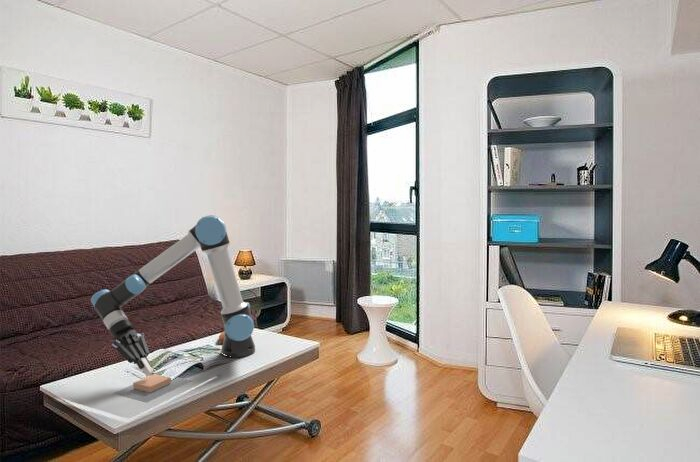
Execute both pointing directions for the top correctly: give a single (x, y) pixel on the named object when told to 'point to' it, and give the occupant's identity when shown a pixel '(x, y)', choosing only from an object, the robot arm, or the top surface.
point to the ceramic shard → (221, 337)
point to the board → (147, 396)
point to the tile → (152, 383)
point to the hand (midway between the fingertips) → (150, 373)
